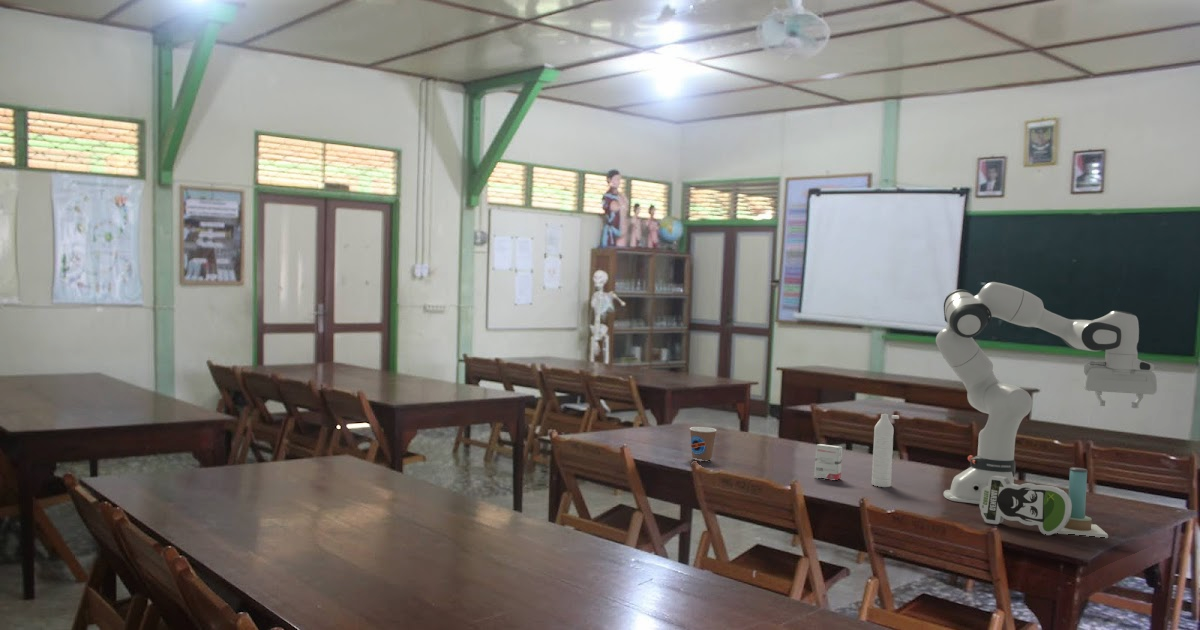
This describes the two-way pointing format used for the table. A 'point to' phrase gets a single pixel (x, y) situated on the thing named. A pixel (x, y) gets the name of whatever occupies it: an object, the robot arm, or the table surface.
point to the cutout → (1025, 504)
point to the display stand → (1082, 528)
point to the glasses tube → (1078, 491)
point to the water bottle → (883, 452)
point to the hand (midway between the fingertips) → (1118, 407)
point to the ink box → (828, 461)
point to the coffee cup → (702, 442)
